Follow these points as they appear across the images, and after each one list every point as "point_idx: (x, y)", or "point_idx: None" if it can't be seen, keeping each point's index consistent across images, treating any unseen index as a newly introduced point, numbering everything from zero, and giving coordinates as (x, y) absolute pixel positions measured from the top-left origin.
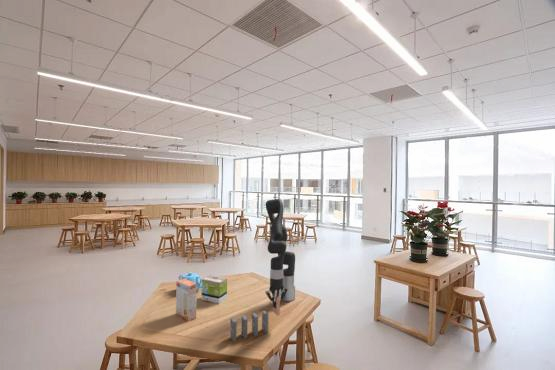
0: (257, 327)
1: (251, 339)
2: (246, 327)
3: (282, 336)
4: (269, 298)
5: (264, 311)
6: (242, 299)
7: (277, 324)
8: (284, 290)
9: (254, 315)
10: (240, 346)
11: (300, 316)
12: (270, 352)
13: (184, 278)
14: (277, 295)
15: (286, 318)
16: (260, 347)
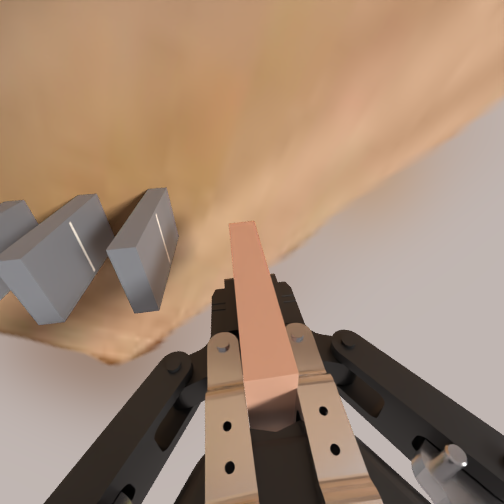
0: (95, 269)
1: None
2: (4, 289)
3: None
4: (154, 385)
5: (130, 260)
6: None
7: (260, 168)
8: (448, 481)
9: (25, 299)
10: None
11: (450, 122)
12: (159, 343)
13: None
14: (286, 417)
15: (355, 110)
16: (123, 317)
